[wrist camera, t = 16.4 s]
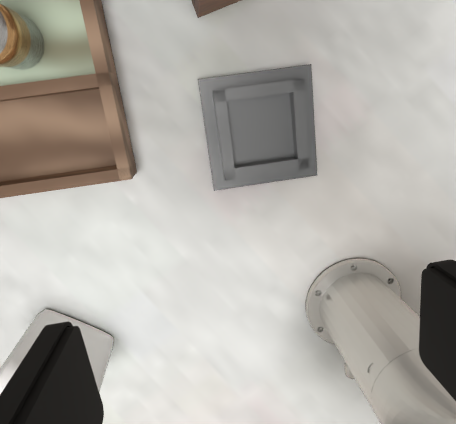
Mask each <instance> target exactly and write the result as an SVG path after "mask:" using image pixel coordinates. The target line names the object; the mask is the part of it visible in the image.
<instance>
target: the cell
mask: <svg viewBox="0 0 456 424" xmlns="http://www.w3.org/2000/svg"><path fill="white" fill-rule="evenodd" d="M43 52H44V40H43V36H42V34H41V32H40V30H39V28H38V27H37V26H36V24H35V23H34V22H33V21H31V20H30V19H29V18H27V17H25V16H23V15H21V14H19V13H17V12H15V11H14V10H12V9H10V8H8V7H6V6H4V5H2V4H0V67H7V68H13V69H19V70H24V69H29V68H31V67H33V66H35V65H36V64H37V63H38V62H39V61H40V59H41V58H42V55H43Z"/></svg>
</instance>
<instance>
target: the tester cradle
mask: <svg viewBox="0 0 456 424" xmlns="http://www.w3.org/2000/svg"><path fill="white" fill-rule="evenodd" d="M198 83H199V90H200V97H201V104H202V111H203V118H204V124H205V131H206V138H207V145H208V152H209V159H210V166H211V173H212V180H213V186H214V191H215V190H221V189H228V188H235V187H242V186H248V185H255V184H262V183H269V182H275V181H282V180H289V179H296V178H302V177H309V176H316V175H317V163H316V144H315V126H314V108H313V89H312V71H311V64H310V65H303V66H295V67H288V68H280V69H273V70H265V71H258V72H250V73H243V74H235V75H228V76H220V77H213V78H205V79H198Z"/></svg>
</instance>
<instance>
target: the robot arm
mask: <svg viewBox="0 0 456 424" xmlns="http://www.w3.org/2000/svg"><path fill="white" fill-rule="evenodd" d="M316 290H317V291H316ZM306 314H307V318H308V320H309V323H310V325H311V327H312V328H313V330H314V331H315V332H316V334H317V335H318V336H319V337H321V338H322V339H324V340H325V341H327V342H329V343H332V344H335V345H336V347H337V348H338V350H339V352H340V354H341V355H342V357H343V359H344V361H345V374H346V376H347V377H348V378H351V379H355V380H356V382H357V383H358V385H359V387H360V389H361V390H362V392H363V394H364V396H365V397H366V399H367V401H368V402H369V404H370V406H371V408H372V409H373V411H374V413H375V415H376V416H377V418H378V420H379V422H380V423H381V424H456V261H454V260H445V261H439V262H433V263H430V264H428V266H427V269H424V270H423V272H422V279H421V305H420V317H419V316H418V315H417V314H416V313H415V312H414V311H413V310H412V309H411V308H410V307H409V306H408V305H407V304H406V303H405V302H404V301H403V300H402V299H401V290H400V287H399V283H398V281H397V280H396V278H395V276H394V275H393V274H392V273H391V272H390V271H389V270H388V269H387V268H386V267H384V266H383V265H382V264H380V263H378V262H376V261H372V260H369V259H359V258H357V259H349V260H345V261H342V262H339V263H337V264H335V265H333V266H331V267H329V268H328V269H327V270H325V271H324V272H323V273H322V274H321V275H320V276H319V277H318V278H317V279H316V280H315V282H314V283H313V284H312V286H311V288H310V290H309V292H308V295H307V300H306ZM103 415H104V411H103V404H102V401H101V397H100V394H99V391H98V387H97V384H96V381H95V377H94V374H93V371H92V367H91V364H90V360H89V357H88V354H87V350H86V347H85V344H84V340H83V337H82V334H81V330H80V328H79V327H78V326H73V325H72V323H71V322H69V321H68V322H62V323H55V324H49V325H46V326H45V327H44V328H43V329H42V331H41V332H40V334H39V336H38V337H37V339H36V340H35V342H34V343H33V345H32V346H31V348H30V349H29V351H28V353H27V354H26V356H25V357H24V359H23V360H22V362H21V363H20V365H19V366H18V368H17V370H16V371H15V373H14V374H13V376H12V377H11V379H10V380H9V382H8V383H7V385H6V386H5V388H4V390H3V391H2V393H1V394H0V424H102V422H103Z"/></svg>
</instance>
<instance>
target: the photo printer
mask: <svg viewBox="0 0 456 424" xmlns="http://www.w3.org/2000/svg"><path fill="white" fill-rule="evenodd" d="M68 321H69V322H71V323H72V325H73V326H78V327H79V328H80V330H81V334H82V337H83V340H84V344H85V347H86V350H87V354H88V357H89V360H90V364H91V367H92V371H93V374H94V377H95V381H96V384H97V387H98V391H100V388H101V385H102V382H103V378H104V375H105V372H106V368H107V365H108V362H109V358H110V355H111V351H112V348H113V340H114V338H113V337H112V336H111V335H109V334H107V333H105V332H103V331H101V330H99V329H97V328H95V327H92V326H90V325H88V324H85V323H83V322H80V321H78V320H76V319H73V318H70V317H68V316H65V315H63V314H60V313H57V312H55V311H51V310H47V309H46V310H44V311H42V312H40V313H39V314H38V315H37V316H36V317H35V319H34V320H33V322H32V323H31V324H30V326H29V327H28V329H27V330H26V332H25V333H24V335H23V336H22V338H21V339H20V340H19V342H18V343H17V345H16V346H15V348H14V349H13V351H12V352H11V354H10V355H9V356H8V358H7V359H6V361H5V362H4V364H3V365H2V367H1V368H0V394H1V393H2V391H3V390H4V388H5V386H6V385H7V383H8V382H9V380H10V379H11V377H12V376H13V374H14V373H15V371H16V370H17V368H18V366H19V365H20V363H21V362H22V360H23V359H24V357H25V356H26V354H27V353H28V351H29V349H30V348H31V346H32V345H33V343H34V342H35V340H36V339H37V337H38V336H39V334H40V332H41V331H42V329H43V328H44V327H45V326H46V325H49V324H55V323H62V322H68Z"/></svg>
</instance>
